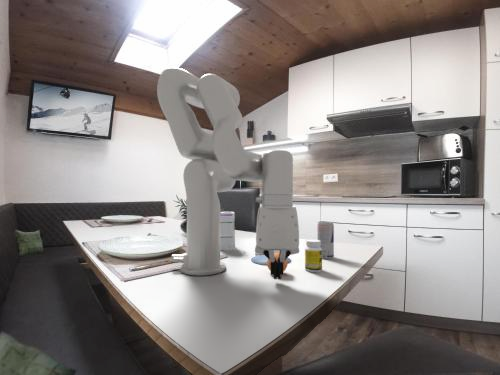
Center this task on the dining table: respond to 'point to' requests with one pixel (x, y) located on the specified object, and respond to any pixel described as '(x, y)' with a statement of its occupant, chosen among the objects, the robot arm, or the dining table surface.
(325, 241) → the energy drink
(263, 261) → the disc
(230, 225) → the syrup box
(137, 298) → the dining table surface
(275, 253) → the ball
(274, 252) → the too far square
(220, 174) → the robot arm
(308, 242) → the supplement bottle
